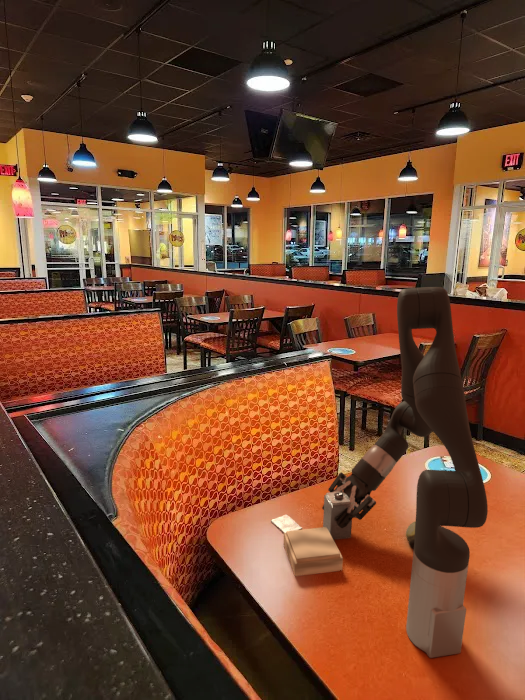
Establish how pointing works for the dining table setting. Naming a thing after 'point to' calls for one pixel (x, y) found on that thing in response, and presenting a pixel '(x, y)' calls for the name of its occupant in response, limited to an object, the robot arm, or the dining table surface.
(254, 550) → the dining table surface
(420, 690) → the dining table surface
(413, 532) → the claw
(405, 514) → the dining table surface
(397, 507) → the dining table surface
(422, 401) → the robot arm
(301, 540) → the stand
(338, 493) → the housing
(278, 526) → the cover plate
